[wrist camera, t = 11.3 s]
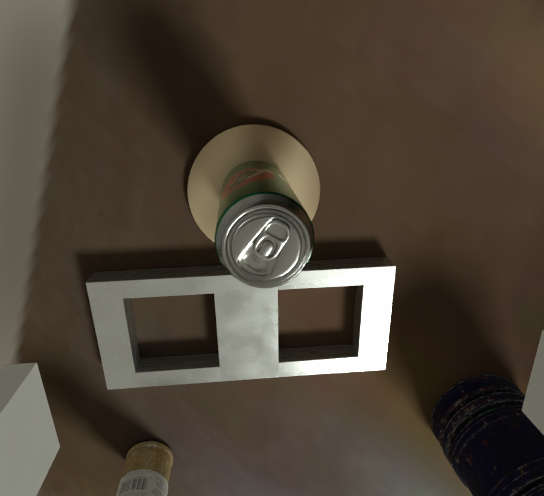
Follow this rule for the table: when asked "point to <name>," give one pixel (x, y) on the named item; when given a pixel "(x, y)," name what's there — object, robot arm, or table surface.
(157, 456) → the sprinkles bottle
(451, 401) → the dark blue canister
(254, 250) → the soda can
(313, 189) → the coaster
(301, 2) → the table surface
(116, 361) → the white flat rectangular frame
